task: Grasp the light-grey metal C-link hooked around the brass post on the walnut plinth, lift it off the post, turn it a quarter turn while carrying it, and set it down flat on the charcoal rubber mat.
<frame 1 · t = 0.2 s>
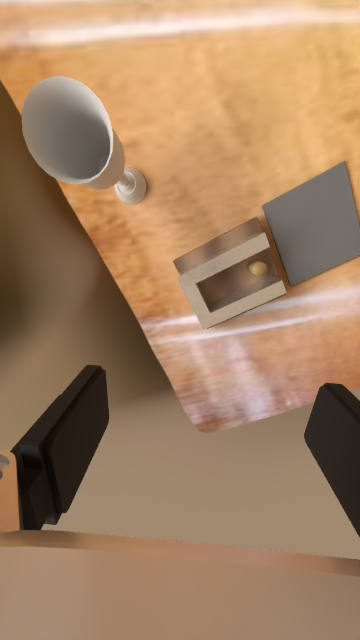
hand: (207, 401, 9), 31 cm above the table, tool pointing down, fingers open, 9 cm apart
c link: (224, 281, 35), point 3 cm above the table, touching stand
stand: (227, 275, 38), on the table
chalice: (130, 186, 34), on the table
mat: (313, 229, 34), on the table
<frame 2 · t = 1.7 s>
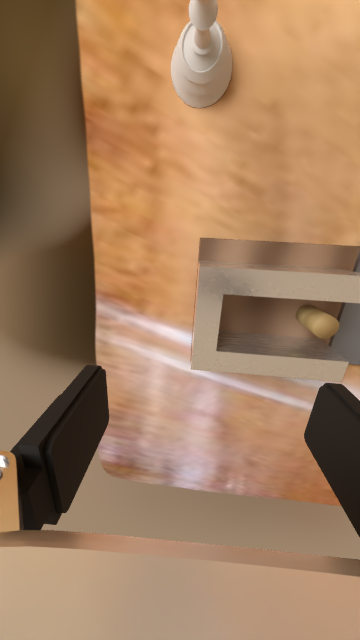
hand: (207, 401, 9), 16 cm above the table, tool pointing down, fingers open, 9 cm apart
c link: (255, 310, 21), point 3 cm above the table, touching stand
stand: (257, 302, 24), on the table
chalice: (201, 70, 18), on the table
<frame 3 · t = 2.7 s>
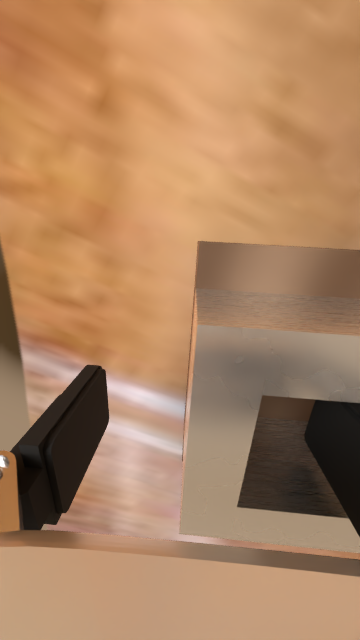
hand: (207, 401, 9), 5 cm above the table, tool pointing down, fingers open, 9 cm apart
c link: (305, 382, 11), point 3 cm above the table, touching stand
stand: (298, 355, 14), on the table
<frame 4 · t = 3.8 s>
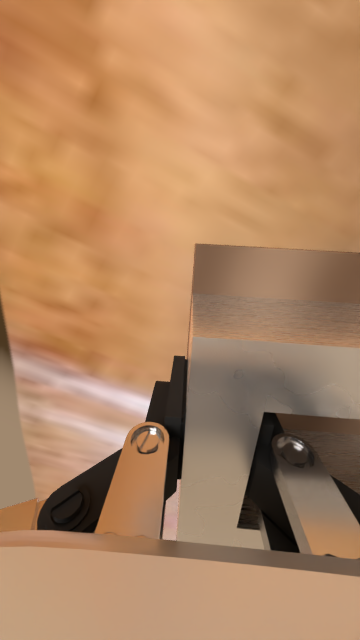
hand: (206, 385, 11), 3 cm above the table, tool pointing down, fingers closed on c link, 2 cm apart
c link: (308, 390, 11), point 3 cm above the table, touching gripper, stand
stand: (299, 360, 13), on the table
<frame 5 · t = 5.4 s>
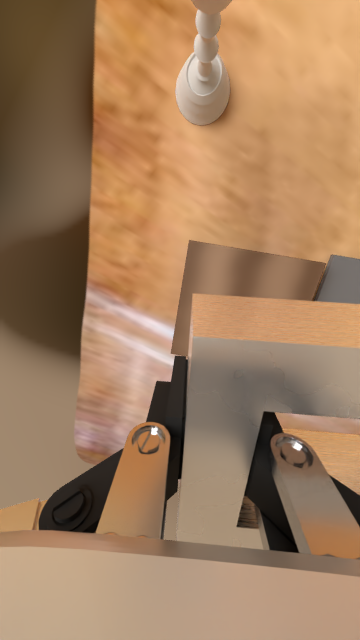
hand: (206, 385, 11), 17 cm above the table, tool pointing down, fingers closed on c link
c link: (307, 390, 11), point 17 cm above the table, touching gripper
stand: (236, 305, 27), on the table
chalice: (202, 92, 20), on the table
mat: (356, 321, 27), on the table
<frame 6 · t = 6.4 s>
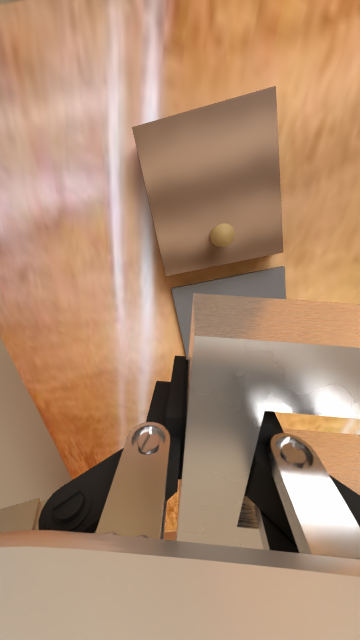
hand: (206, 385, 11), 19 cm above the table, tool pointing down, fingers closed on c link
c link: (307, 390, 11), point 19 cm above the table, touching gripper
stand: (210, 199, 24), on the table
mat: (231, 321, 29), on the table
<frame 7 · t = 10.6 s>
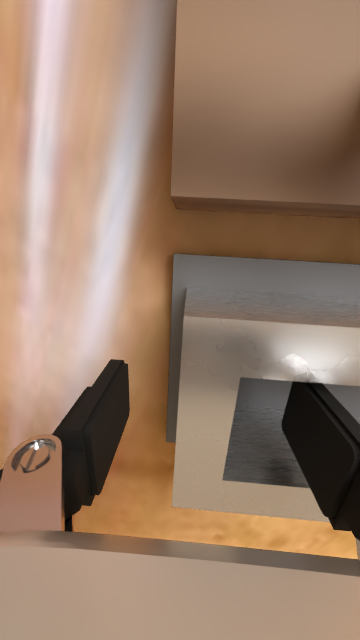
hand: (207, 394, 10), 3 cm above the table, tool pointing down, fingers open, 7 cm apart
c link: (288, 373, 12), point 1 cm above the table, touching mat
mat: (289, 367, 13), on the table
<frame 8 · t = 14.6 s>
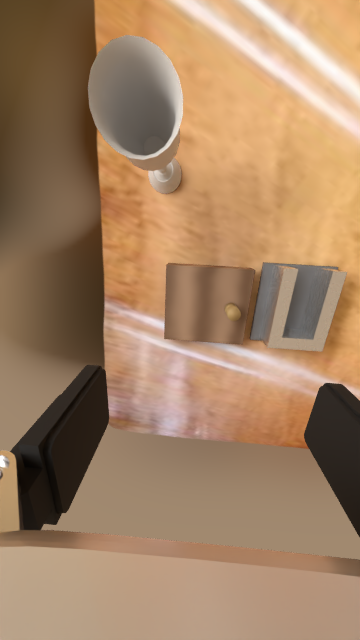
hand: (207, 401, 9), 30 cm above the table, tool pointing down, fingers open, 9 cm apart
c link: (291, 307, 38), point 1 cm above the table, touching mat
stand: (205, 302, 39), on the table
chalice: (165, 175, 33), on the table
mat: (289, 304, 38), on the table
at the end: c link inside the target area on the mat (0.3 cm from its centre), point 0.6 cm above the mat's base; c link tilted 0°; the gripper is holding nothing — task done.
